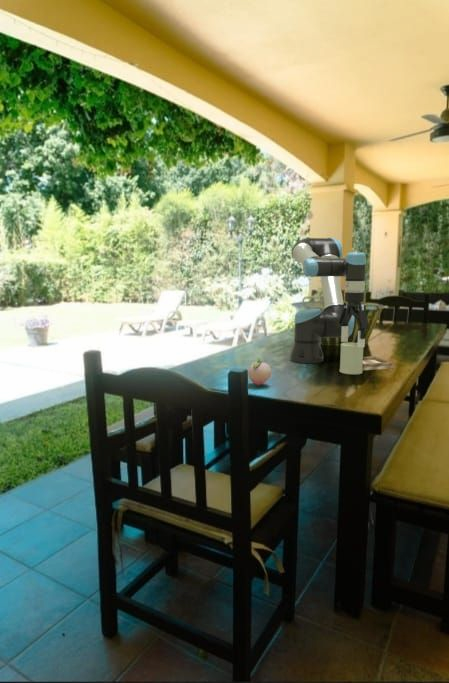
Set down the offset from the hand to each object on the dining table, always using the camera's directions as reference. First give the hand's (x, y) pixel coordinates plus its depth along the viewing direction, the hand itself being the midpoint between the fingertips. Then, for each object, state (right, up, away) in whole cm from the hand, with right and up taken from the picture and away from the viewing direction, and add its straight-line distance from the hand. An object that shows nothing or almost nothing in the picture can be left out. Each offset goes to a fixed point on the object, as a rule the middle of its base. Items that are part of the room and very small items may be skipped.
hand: (352, 344), depth 185 cm
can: (0, -12, +2) cm, 12 cm away
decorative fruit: (-39, -15, -19) cm, 46 cm away
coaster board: (+11, -9, +13) cm, 19 cm away
